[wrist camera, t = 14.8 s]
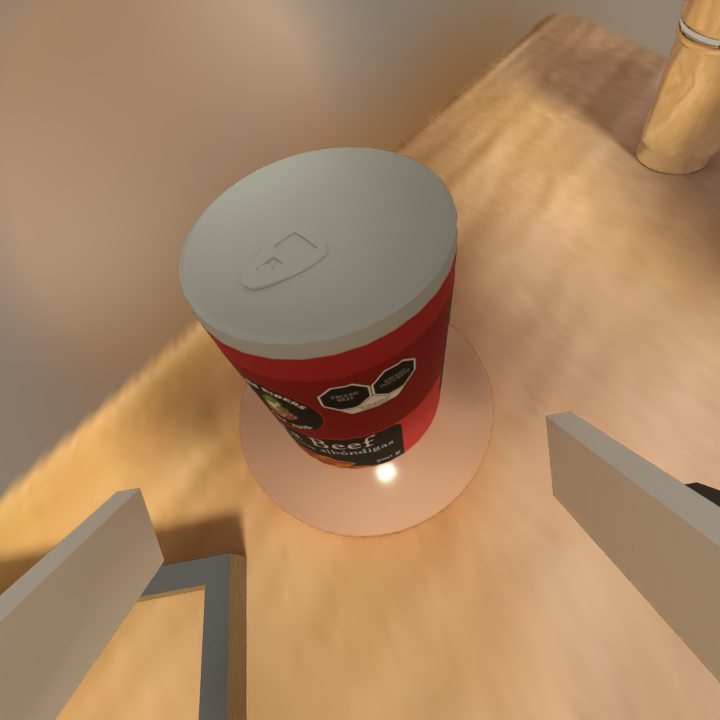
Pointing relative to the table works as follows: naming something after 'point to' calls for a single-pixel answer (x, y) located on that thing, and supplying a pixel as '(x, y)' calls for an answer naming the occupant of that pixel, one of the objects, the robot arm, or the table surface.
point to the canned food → (332, 296)
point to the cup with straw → (687, 96)
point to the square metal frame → (214, 627)
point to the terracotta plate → (385, 481)
